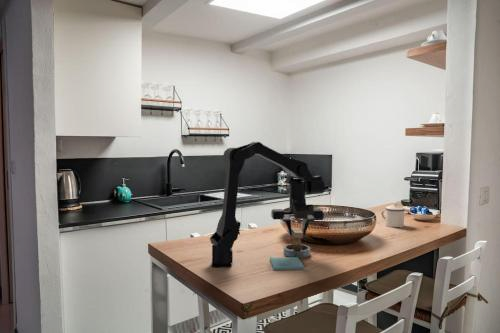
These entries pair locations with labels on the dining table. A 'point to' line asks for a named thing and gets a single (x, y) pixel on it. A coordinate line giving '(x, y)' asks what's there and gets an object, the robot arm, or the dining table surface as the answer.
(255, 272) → the dining table surface
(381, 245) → the dining table surface
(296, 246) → the t key
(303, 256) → the ring socket
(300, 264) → the rubber mat
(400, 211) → the teacup with lid
